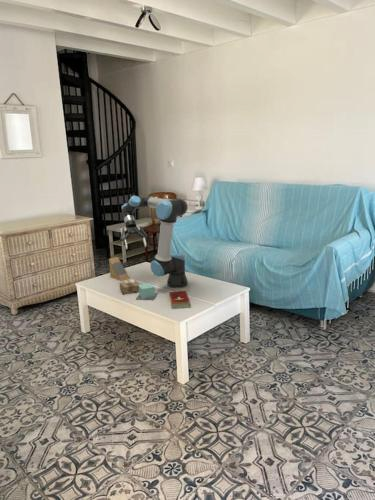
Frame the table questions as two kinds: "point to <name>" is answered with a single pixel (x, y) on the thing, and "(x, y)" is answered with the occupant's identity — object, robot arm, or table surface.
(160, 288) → the table surface
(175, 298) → the hardcover book
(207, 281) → the table surface
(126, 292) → the walnut box
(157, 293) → the mat
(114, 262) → the sandwich container
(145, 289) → the mint green cube
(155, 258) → the robot arm
